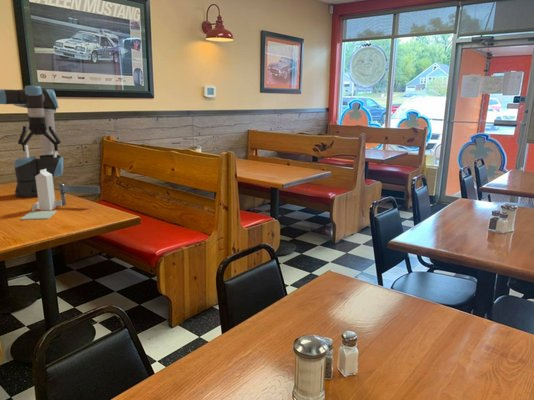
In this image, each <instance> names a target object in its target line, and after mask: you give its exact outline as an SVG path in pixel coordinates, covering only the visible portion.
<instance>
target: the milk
mask: <svg viewBox="0 0 534 400" xmlns="http://www.w3.org/2000/svg"><path fill="white" fill-rule="evenodd" d="M35 178H36V186H37V194H38V196H37V202H39V208H38V210H39V211H53V210H55V209H56V208H57V206H56V203H55V201H56V196H55V195H56V194H55V187H54V180H53V177H52V174H51V173H49V172H47V170H46V169H43V170H40V174H38V175H36V176H35Z"/></svg>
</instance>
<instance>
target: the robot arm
mask: <svg viewBox="0 0 534 400" xmlns="http://www.w3.org/2000/svg"><path fill="white" fill-rule="evenodd" d="M0 105H13V106H14V107H19V108H23V109H25V108H26V109H27V115H28V124H29V125H28V126H27V125H23V126H22V132H21V134H20V136H19V139H18V141H17V144H18V145H21V146H22V151H23V152H24V153H25V156H24V157H19V158H16V159H15V160H14V172H15V173H14V174H15V178H16V179H15V180H16V185H15V189H14V196H15V197H17V198H31V197H38V194H37V186H36V178H35V176H36V175H38V174H40V170H43V169H46V170H47V172H49V173H51V174H52V177H61V176H62V175H63V173H64V157H63V156H61V154H60V153H59V152H58V150H59V148H58V145H59V144H61V143H62V142H61V139H60V138H59V136H58V135H57V134H56V124H55V114H56V112H57V110H58V109H59V103H58V99H57V96H56V92H55V90H54V89H51V88H49V89H48V88H42V87H41V86H40V85H25V86H24V88H22V89H21V88H20V89H4V88H2V89H0ZM28 131H30V132H29V133H28V135H27V132H28ZM26 135H27V136H26ZM38 135H39V136H40V147H41V153H40V154H39V158H37V157H36V156H35V155H30V150H29V145H28V142H29V141H30V139H32V137H33V136H38Z"/></svg>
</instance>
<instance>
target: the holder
mask: <svg viewBox="0 0 534 400" xmlns="http://www.w3.org/2000/svg"><path fill="white" fill-rule="evenodd" d="M60 198H61V199H60V200H55V203H56V207H63V206H66V205H67V201H66V193H60ZM30 207H31V212H32V211H37V210H39V202H38V201H37V202H35V203H34V204H32V205H31V206H30Z"/></svg>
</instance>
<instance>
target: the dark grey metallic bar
mask: <svg viewBox="0 0 534 400" xmlns="http://www.w3.org/2000/svg"><path fill="white" fill-rule="evenodd" d="M58 186H59V193H60V194H61V193H65V194H66V193H70V194H71V193H72V194H91V195H93V194H95V195H96V194H97V195H100V194H101V186H100V185H79V184H78V185H75V184H65V183H59V185H58Z"/></svg>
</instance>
